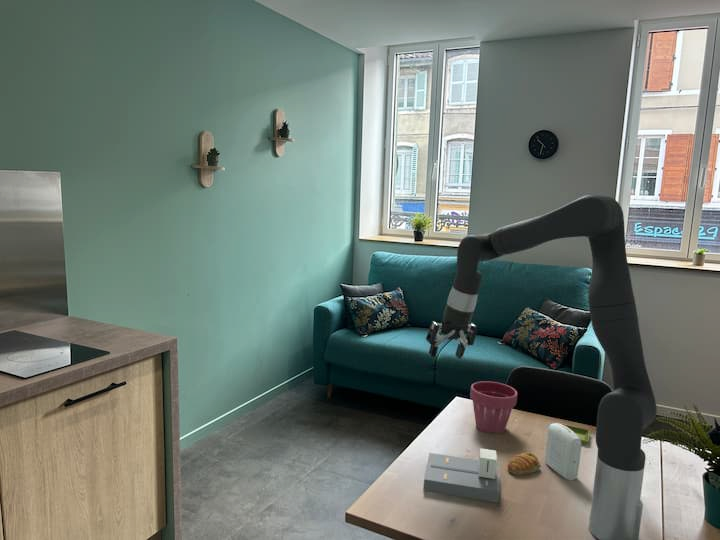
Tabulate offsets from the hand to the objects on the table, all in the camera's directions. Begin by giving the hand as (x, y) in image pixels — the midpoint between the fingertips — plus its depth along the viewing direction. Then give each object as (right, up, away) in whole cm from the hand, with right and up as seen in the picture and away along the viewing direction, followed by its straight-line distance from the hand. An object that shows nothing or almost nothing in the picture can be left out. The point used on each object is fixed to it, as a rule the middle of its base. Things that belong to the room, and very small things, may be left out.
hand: (445, 356), depth 150 cm
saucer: (+42, -28, +15) cm, 53 cm away
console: (+2, -30, -14) cm, 33 cm away
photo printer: (+30, -30, -6) cm, 43 cm away
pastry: (+20, -30, -6) cm, 36 cm away
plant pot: (+17, -26, +19) cm, 37 cm away
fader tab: (+8, -27, -16) cm, 32 cm away
